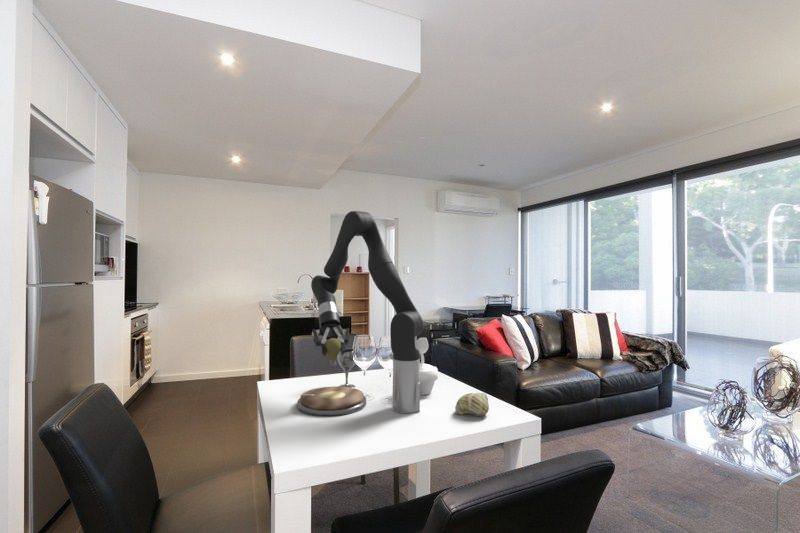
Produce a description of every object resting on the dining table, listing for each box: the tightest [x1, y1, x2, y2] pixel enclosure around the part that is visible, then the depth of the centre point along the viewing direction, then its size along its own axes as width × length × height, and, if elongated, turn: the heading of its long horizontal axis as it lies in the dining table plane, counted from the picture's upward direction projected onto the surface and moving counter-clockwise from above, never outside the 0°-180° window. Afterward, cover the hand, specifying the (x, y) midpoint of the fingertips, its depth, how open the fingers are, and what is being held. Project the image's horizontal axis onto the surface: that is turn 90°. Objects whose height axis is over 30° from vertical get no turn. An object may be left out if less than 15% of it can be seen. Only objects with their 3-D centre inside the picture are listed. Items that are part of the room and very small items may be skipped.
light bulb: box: [325, 338, 341, 367], centre depth 135 cm, size 6×6×10 cm
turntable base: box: [296, 395, 367, 418], centre depth 135 cm, size 24×24×2 cm
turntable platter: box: [299, 386, 365, 410], centre depth 135 cm, size 22×22×2 cm
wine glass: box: [337, 347, 356, 388], centre depth 157 cm, size 8×8×15 cm
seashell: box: [454, 392, 490, 417], centre depth 127 cm, size 10×10×10 cm
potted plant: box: [415, 334, 439, 396], centre depth 150 cm, size 13×12×25 cm
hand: (333, 353), depth 134 cm, fingers closed on light bulb, 5 cm apart
